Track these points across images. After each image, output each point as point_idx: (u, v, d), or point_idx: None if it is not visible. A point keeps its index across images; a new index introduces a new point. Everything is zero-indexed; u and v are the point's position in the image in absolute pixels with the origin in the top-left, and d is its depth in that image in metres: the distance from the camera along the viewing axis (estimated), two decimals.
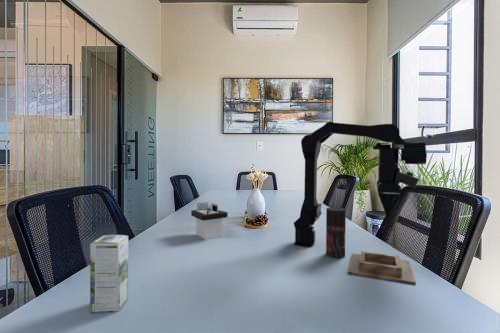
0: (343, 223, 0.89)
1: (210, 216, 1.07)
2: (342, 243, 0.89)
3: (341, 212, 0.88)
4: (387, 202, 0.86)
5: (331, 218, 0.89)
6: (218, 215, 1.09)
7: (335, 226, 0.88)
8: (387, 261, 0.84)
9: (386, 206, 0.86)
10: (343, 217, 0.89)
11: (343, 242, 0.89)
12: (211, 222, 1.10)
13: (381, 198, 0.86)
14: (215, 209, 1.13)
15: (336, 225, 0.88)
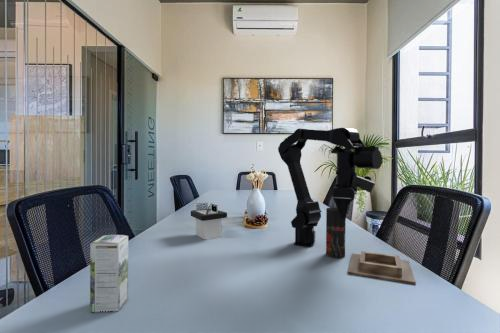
0: (343, 223, 0.89)
1: (209, 216, 1.07)
2: (342, 243, 0.89)
3: None
4: (342, 207, 0.85)
5: (331, 218, 0.89)
6: (217, 215, 1.09)
7: (335, 226, 0.88)
8: (387, 261, 0.84)
9: (342, 211, 0.85)
10: None
11: (343, 242, 0.89)
12: (210, 223, 1.09)
13: (336, 203, 0.85)
14: (214, 209, 1.13)
15: (336, 225, 0.88)
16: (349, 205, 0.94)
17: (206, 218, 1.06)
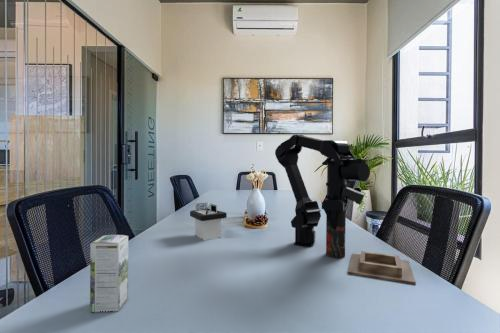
0: (343, 223, 0.89)
1: (208, 217, 1.06)
2: (342, 243, 0.89)
3: (341, 212, 0.88)
4: (333, 217, 0.87)
5: None
6: (217, 215, 1.08)
7: None
8: (387, 261, 0.84)
9: (332, 221, 0.88)
10: (343, 217, 0.89)
11: (343, 242, 0.89)
12: (210, 223, 1.09)
13: (327, 214, 0.87)
14: (214, 209, 1.12)
15: None
16: None
17: (205, 218, 1.06)
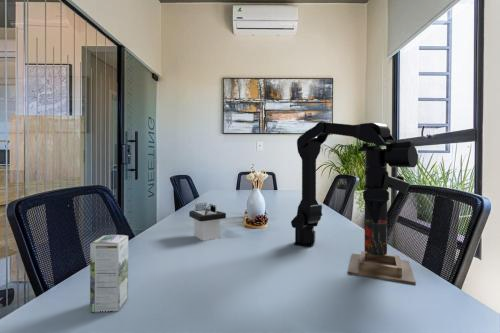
0: (385, 216, 0.79)
1: (208, 217, 1.06)
2: (384, 238, 0.79)
3: None
4: (374, 209, 0.77)
5: None
6: (216, 216, 1.07)
7: None
8: (387, 261, 0.84)
9: (373, 214, 0.78)
10: (385, 209, 0.79)
11: (385, 237, 0.79)
12: (209, 223, 1.08)
13: (368, 205, 0.78)
14: (213, 210, 1.11)
15: None
16: None
17: (204, 219, 1.05)
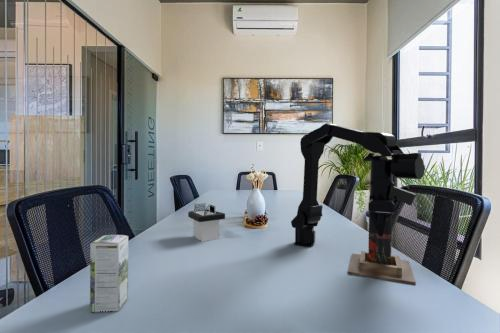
0: (390, 230, 0.78)
1: (207, 218, 1.05)
2: (388, 253, 0.78)
3: (388, 217, 0.78)
4: (380, 222, 0.75)
5: None
6: (215, 216, 1.07)
7: None
8: None
9: (378, 226, 0.76)
10: (390, 223, 0.78)
11: (389, 251, 0.78)
12: (208, 224, 1.07)
13: (373, 217, 0.75)
14: (212, 210, 1.11)
15: None
16: None
17: (203, 219, 1.04)
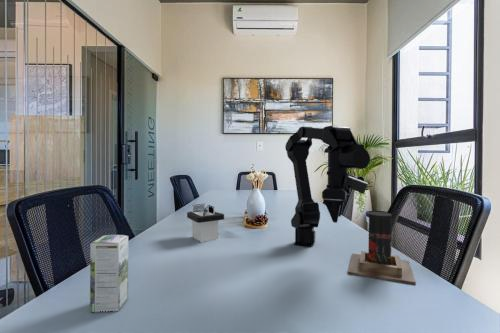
0: (390, 230, 0.78)
1: (205, 218, 1.04)
2: (388, 253, 0.78)
3: (388, 217, 0.78)
4: (333, 209, 0.80)
5: (376, 224, 0.78)
6: (214, 217, 1.06)
7: (381, 233, 0.78)
8: None
9: (333, 213, 0.81)
10: (390, 223, 0.78)
11: (389, 251, 0.78)
12: (207, 224, 1.06)
13: (327, 205, 0.80)
14: (211, 211, 1.10)
15: (382, 232, 0.78)
16: (342, 207, 0.89)
17: (202, 220, 1.03)
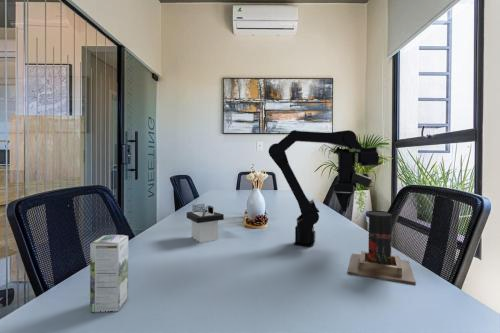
0: (390, 230, 0.78)
1: (205, 219, 1.03)
2: (388, 253, 0.78)
3: (388, 217, 0.78)
4: (343, 200, 0.96)
5: (376, 224, 0.78)
6: (214, 217, 1.05)
7: (381, 233, 0.78)
8: None
9: (343, 204, 0.96)
10: (390, 223, 0.78)
11: (389, 251, 0.78)
12: (206, 225, 1.06)
13: (338, 197, 0.96)
14: (211, 211, 1.09)
15: (382, 232, 0.78)
16: (349, 199, 1.05)
17: (201, 220, 1.02)
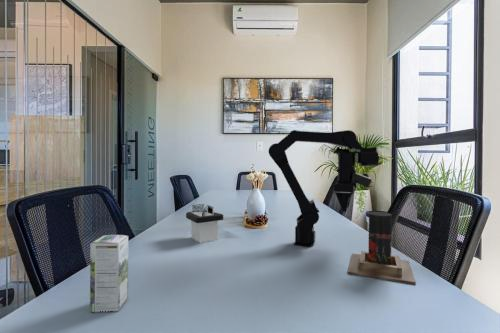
0: (390, 230, 0.78)
1: (204, 219, 1.03)
2: (388, 253, 0.78)
3: (388, 217, 0.78)
4: (343, 200, 0.96)
5: (376, 224, 0.78)
6: (213, 217, 1.05)
7: (381, 233, 0.78)
8: None
9: (343, 204, 0.96)
10: (390, 223, 0.78)
11: (389, 251, 0.78)
12: (206, 225, 1.05)
13: (338, 197, 0.96)
14: (210, 211, 1.09)
15: (382, 232, 0.78)
16: (349, 199, 1.05)
17: (201, 220, 1.02)
